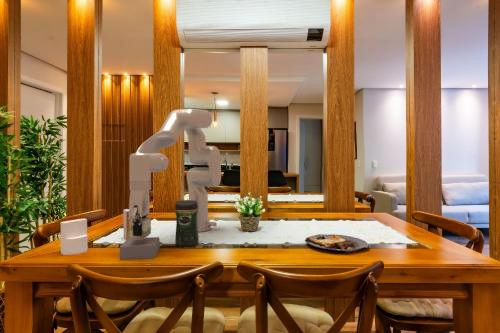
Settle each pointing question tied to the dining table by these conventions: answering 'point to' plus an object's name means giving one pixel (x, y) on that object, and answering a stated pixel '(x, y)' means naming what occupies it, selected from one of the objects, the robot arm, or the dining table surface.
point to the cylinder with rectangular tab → (74, 237)
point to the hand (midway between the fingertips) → (140, 233)
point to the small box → (127, 225)
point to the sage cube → (145, 227)
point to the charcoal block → (140, 248)
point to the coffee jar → (186, 223)
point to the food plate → (336, 242)
